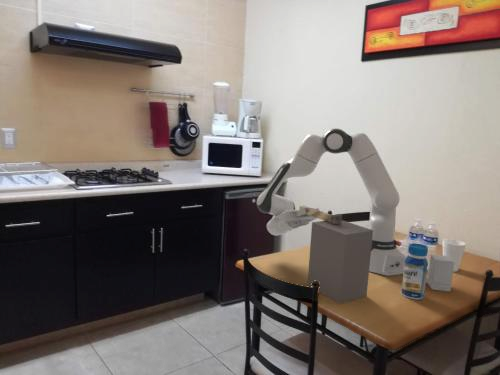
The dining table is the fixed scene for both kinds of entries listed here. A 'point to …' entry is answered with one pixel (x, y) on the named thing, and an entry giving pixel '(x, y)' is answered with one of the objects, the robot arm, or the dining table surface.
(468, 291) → the dining table surface
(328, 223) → the stand
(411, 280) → the beverage bottle
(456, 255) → the foam cup
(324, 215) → the bar
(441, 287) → the supplement box
